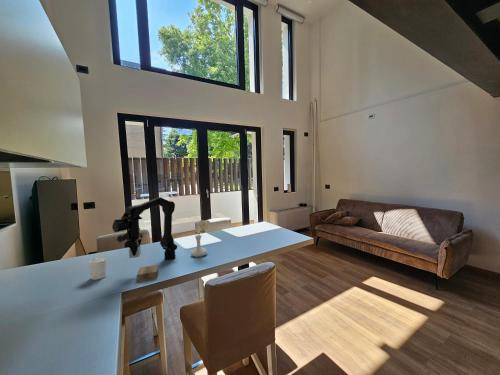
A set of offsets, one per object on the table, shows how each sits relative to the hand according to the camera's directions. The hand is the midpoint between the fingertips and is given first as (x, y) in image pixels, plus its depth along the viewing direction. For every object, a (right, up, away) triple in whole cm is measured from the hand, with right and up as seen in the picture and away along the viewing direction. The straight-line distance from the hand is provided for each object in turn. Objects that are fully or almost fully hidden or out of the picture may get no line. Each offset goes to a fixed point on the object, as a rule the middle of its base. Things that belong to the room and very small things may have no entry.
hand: (135, 253), depth 123 cm
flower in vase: (+32, -9, +26) cm, 42 cm away
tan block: (+9, -12, -3) cm, 15 cm away
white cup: (-19, -12, -3) cm, 23 cm away
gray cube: (0, -1, 0) cm, 1 cm away
